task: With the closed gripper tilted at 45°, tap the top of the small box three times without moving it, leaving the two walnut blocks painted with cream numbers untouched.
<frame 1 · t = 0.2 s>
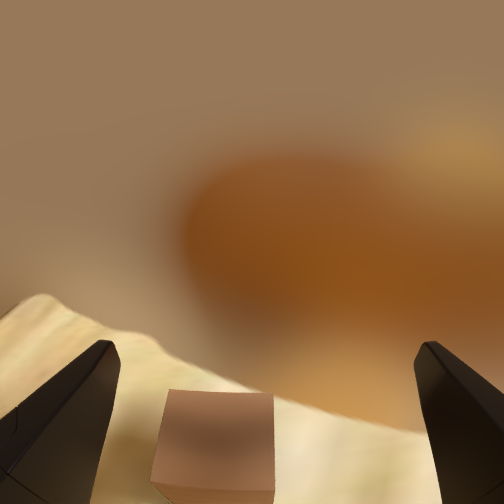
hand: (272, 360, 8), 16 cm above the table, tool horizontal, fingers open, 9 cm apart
walnut block seven: (228, 481, 18), on the table
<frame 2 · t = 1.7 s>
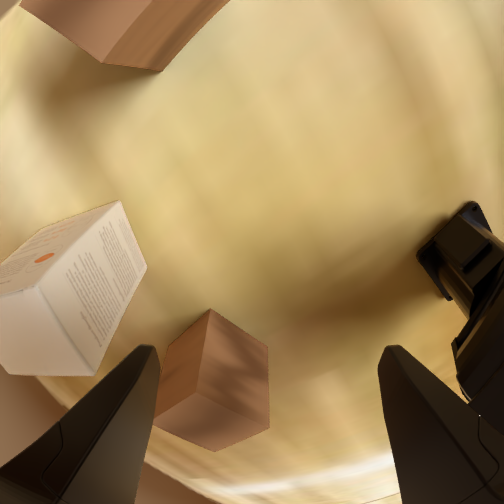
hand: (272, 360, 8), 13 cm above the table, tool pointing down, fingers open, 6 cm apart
walnut block one: (216, 346, 26), on the table
small box: (93, 244, 22), on the table
walnut block seven: (159, 9, 14), on the table
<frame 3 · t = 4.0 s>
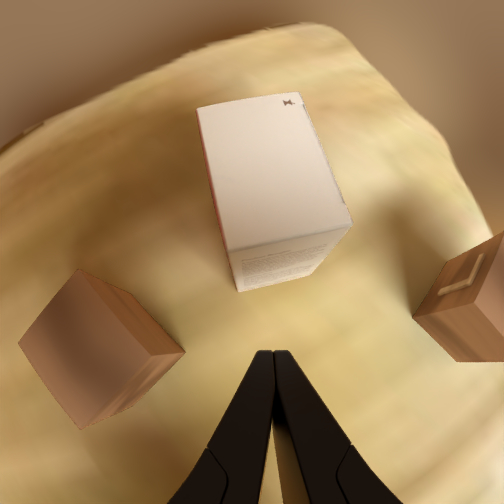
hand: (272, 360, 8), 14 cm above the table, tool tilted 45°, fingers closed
walnut block one: (130, 350, 21), on the table
small box: (261, 235, 24), on the table
walnut block seven: (453, 311, 22), on the table
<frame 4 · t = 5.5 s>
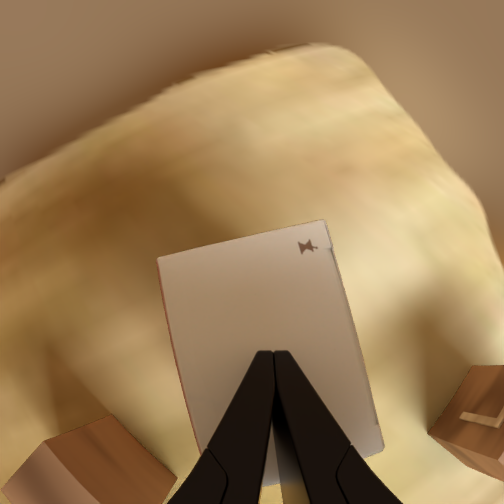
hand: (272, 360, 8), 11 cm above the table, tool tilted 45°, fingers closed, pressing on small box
walnut block one: (118, 469, 16), on the table
small box: (261, 354, 19), on the table, touching gripper
walnut block seven: (471, 418, 17), on the table
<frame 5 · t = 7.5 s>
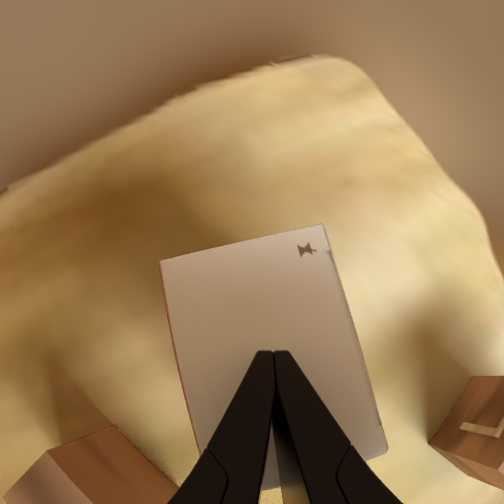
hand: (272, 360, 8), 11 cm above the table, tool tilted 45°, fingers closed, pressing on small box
walnut block one: (119, 479, 16), on the table
small box: (263, 367, 18), on the table, touching gripper
walnut block seven: (471, 428, 16), on the table
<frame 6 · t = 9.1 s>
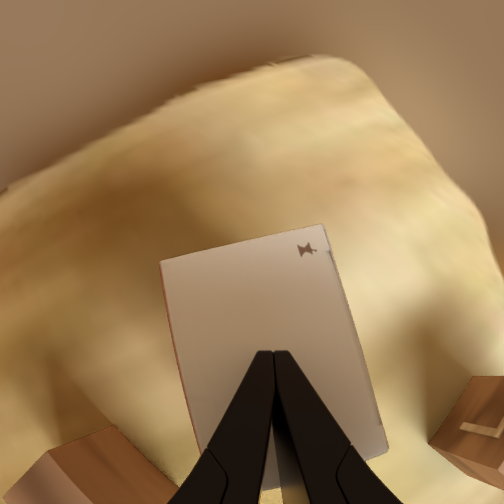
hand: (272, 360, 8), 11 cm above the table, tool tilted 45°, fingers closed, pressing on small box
walnut block one: (119, 479, 16), on the table
small box: (263, 367, 18), on the table, touching gripper
walnut block seven: (471, 428, 16), on the table
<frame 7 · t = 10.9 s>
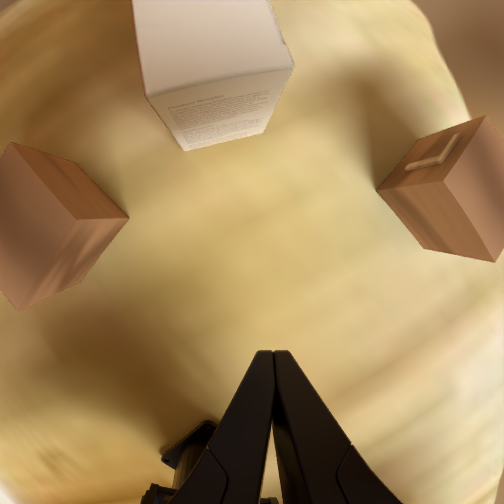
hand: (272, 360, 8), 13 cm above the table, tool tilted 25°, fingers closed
walnut block one: (76, 222, 20), on the table
small box: (211, 92, 20), on the table
walnut block seven: (422, 193, 21), on the table
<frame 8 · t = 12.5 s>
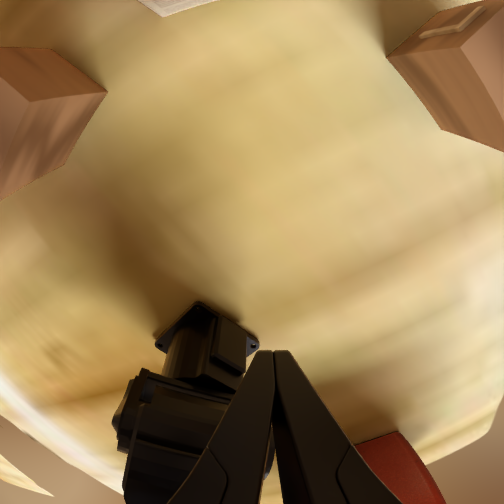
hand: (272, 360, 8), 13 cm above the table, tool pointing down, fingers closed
plant pot: (361, 456, 38), on the table
walnut block one: (55, 106, 16), on the table
walnut block seven: (442, 68, 15), on the table
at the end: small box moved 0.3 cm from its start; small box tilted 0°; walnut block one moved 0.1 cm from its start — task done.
